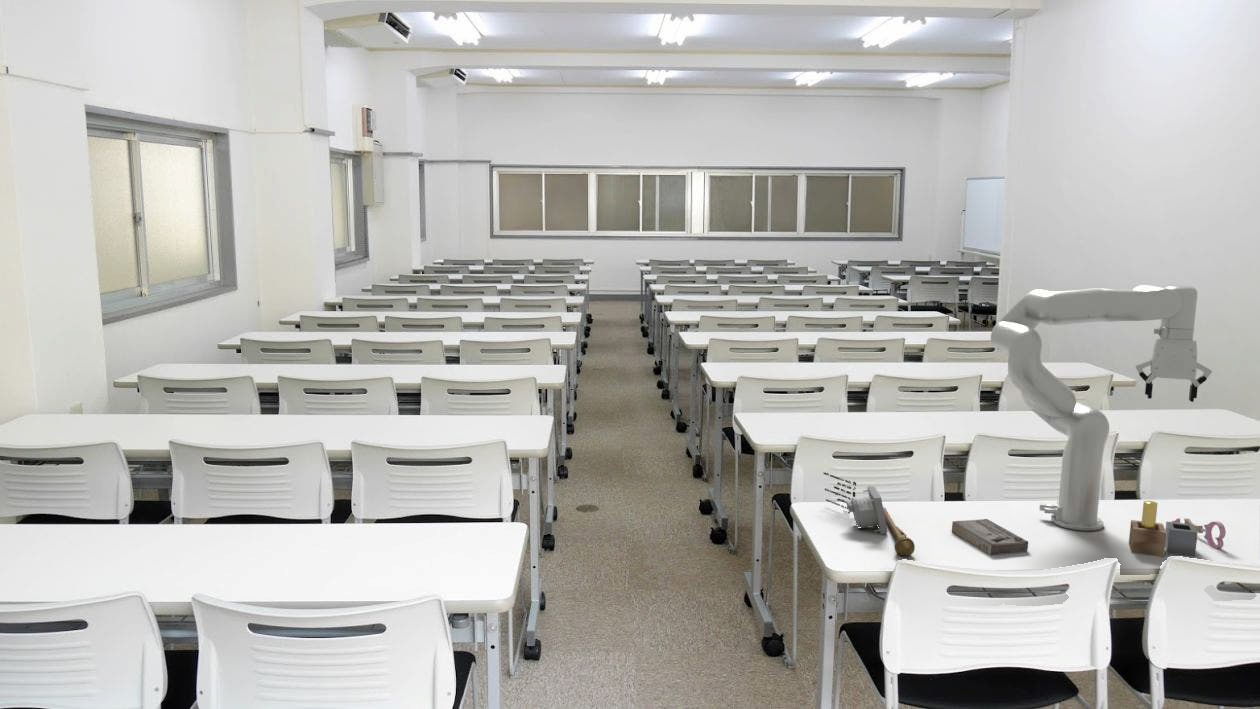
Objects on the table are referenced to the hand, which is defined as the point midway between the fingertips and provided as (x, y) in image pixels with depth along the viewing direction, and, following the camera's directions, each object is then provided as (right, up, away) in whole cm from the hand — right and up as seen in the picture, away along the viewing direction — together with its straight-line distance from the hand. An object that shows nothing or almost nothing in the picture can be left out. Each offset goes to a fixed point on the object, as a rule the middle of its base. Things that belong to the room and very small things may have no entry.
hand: (1170, 399), depth 254 cm
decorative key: (+4, -35, -5) cm, 36 cm away
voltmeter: (-81, -33, +6) cm, 88 cm away
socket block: (-6, -36, -15) cm, 40 cm away
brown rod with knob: (-73, -35, -4) cm, 81 cm away
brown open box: (-14, -36, -14) cm, 41 cm away
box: (-51, -36, -9) cm, 63 cm away
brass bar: (-14, -36, -14) cm, 41 cm away
